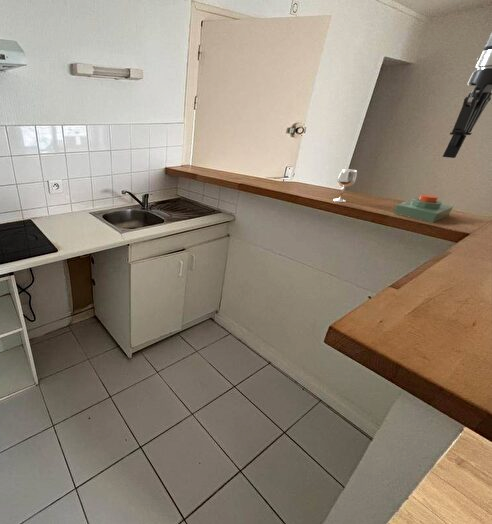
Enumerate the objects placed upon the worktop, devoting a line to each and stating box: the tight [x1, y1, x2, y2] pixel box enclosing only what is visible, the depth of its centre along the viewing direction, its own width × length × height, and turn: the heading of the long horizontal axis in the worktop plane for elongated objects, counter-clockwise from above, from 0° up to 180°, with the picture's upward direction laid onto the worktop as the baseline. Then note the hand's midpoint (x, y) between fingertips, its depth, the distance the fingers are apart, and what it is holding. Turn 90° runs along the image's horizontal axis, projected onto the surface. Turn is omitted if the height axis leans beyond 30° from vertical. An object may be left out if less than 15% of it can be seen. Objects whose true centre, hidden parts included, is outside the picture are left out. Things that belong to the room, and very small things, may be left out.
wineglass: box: [333, 168, 358, 203], centre depth 112 cm, size 6×6×12 cm
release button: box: [418, 193, 439, 203], centre depth 97 cm, size 4×4×2 cm
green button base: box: [392, 197, 454, 223], centre depth 98 cm, size 14×11×5 cm
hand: (448, 157), depth 90 cm, fingers closed
